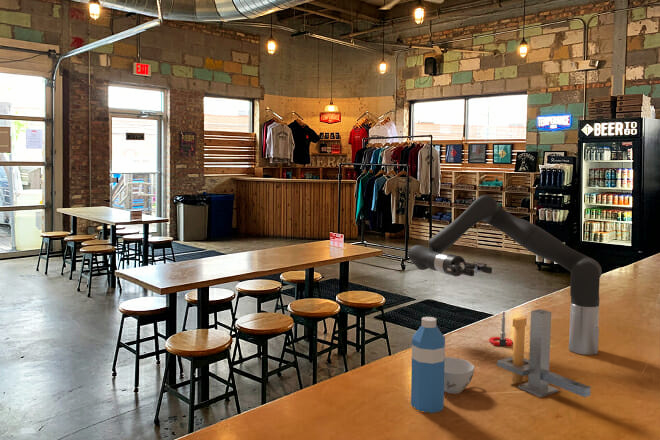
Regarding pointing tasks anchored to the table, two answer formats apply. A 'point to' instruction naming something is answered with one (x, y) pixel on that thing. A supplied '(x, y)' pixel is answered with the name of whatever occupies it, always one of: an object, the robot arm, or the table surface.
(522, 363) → the wedge pin
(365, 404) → the table surface
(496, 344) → the red handwheel with stem
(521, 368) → the scaffold post with crossbars
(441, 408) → the water bottle
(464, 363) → the teacup
